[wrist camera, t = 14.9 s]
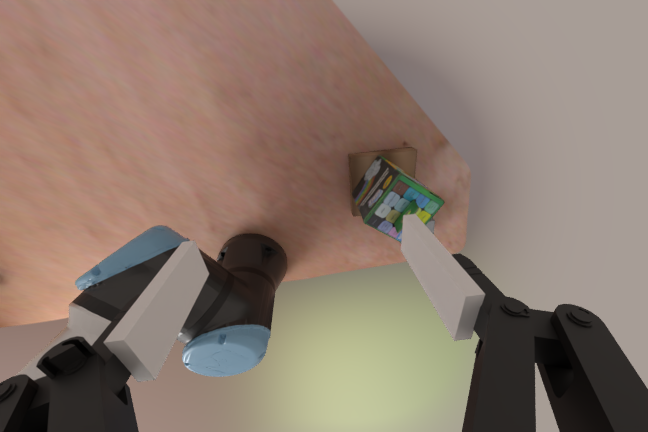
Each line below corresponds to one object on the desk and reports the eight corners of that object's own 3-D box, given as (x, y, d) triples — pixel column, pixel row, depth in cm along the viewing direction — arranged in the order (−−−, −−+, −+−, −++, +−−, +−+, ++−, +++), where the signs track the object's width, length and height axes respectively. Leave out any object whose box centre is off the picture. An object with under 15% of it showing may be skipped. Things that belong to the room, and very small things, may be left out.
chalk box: (386, 214, 49) (416, 261, 36) (349, 194, 46) (367, 236, 33) (416, 177, 45) (461, 213, 32) (378, 152, 42) (411, 181, 29)
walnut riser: (351, 210, 50) (353, 216, 48) (348, 154, 45) (350, 157, 42) (407, 204, 51) (411, 209, 48) (411, 147, 45) (417, 150, 43)
